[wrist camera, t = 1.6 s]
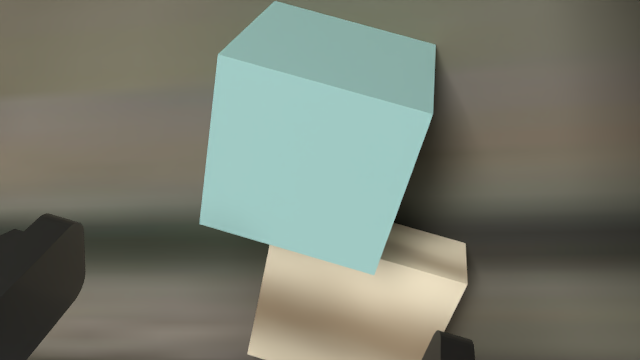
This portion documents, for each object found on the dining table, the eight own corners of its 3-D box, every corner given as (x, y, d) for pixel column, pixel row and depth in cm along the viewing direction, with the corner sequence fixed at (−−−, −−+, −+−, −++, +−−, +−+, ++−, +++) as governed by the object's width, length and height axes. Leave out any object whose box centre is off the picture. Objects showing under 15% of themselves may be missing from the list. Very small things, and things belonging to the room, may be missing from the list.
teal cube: (275, 0, 20) (218, 54, 15) (435, 44, 19) (433, 114, 14) (252, 140, 23) (199, 223, 18) (389, 179, 23) (374, 275, 18)
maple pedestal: (291, 188, 24) (273, 227, 22) (465, 238, 24) (467, 284, 21) (264, 309, 29) (247, 354, 26) (411, 353, 28) (408, 403, 26)
